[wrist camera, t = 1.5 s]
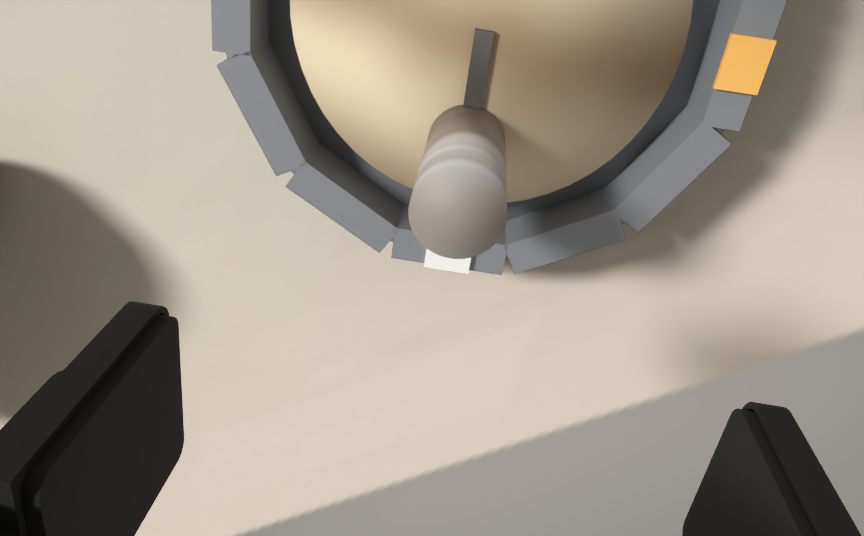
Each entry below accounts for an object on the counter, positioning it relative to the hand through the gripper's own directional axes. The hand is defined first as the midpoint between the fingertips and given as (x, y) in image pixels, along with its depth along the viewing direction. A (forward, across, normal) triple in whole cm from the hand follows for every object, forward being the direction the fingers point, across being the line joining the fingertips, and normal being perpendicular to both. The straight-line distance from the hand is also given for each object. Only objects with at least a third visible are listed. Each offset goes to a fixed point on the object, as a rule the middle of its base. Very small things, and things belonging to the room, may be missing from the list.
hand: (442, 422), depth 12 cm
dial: (+15, 0, -5) cm, 15 cm away
